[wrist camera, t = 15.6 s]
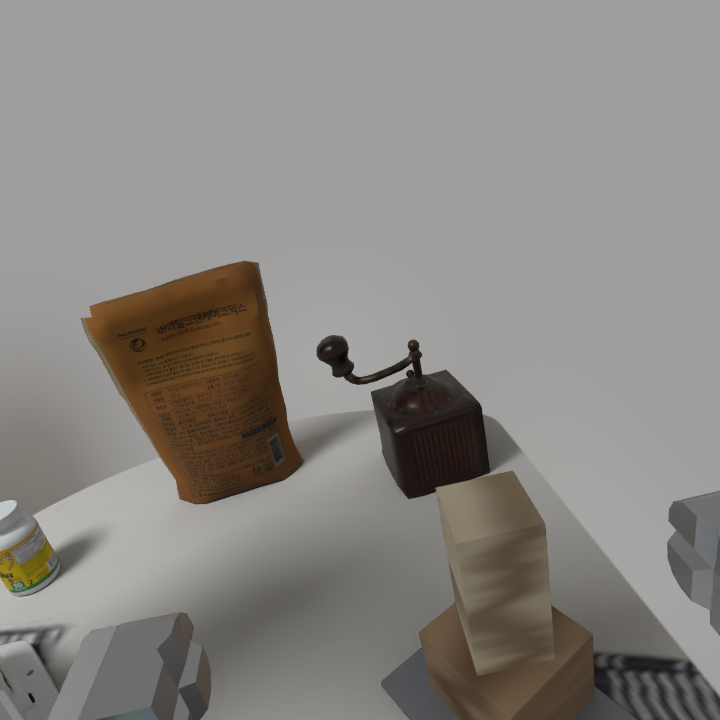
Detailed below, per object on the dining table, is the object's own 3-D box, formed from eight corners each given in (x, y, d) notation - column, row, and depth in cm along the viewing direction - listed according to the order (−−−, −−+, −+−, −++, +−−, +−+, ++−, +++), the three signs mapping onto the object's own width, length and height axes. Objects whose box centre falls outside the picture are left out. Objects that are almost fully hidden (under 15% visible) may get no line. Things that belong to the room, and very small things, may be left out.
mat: (381, 685, 41) (380, 682, 41) (481, 600, 46) (481, 597, 46) (562, 900, 28) (562, 896, 28) (672, 751, 33) (672, 747, 33)
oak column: (477, 676, 34) (455, 543, 29) (457, 610, 38) (435, 487, 34) (555, 658, 34) (544, 523, 29) (525, 595, 38) (512, 470, 34)
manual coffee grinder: (454, 428, 71) (435, 301, 64) (492, 473, 61) (475, 329, 54) (342, 463, 69) (310, 336, 62) (364, 516, 59) (328, 371, 52)
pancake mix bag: (318, 477, 67) (258, 261, 56) (166, 524, 65) (70, 308, 53) (311, 450, 73) (254, 250, 62) (171, 492, 71) (86, 292, 59)
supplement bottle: (70, 569, 61) (33, 502, 57) (23, 605, 57) (-21, 536, 53) (48, 555, 64) (11, 490, 60) (2, 588, 60) (-41, 522, 56)
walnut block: (431, 688, 40) (418, 632, 37) (504, 622, 43) (497, 567, 41) (517, 780, 33) (509, 720, 31) (594, 694, 37) (592, 634, 35)
